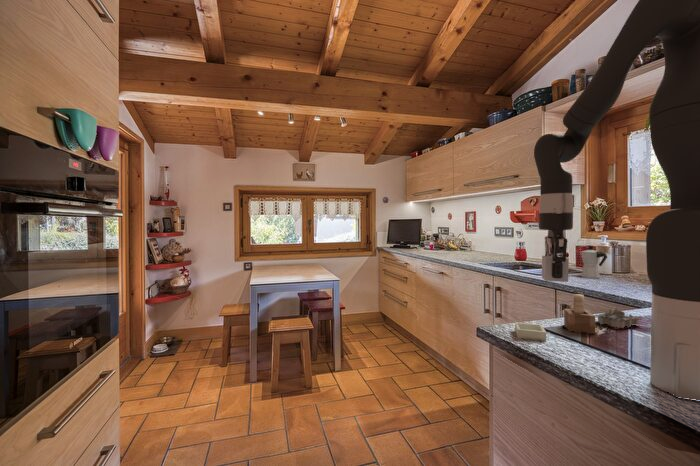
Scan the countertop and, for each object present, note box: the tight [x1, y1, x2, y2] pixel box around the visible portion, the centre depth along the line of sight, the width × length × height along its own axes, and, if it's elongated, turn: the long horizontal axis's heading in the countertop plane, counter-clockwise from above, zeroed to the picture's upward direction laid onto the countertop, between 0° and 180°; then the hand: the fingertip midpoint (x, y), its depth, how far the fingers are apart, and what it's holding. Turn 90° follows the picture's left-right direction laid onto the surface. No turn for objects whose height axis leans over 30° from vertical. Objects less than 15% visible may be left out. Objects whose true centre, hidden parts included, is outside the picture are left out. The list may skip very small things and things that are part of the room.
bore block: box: [563, 308, 596, 334], centre depth 92 cm, size 6×6×5 cm
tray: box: [514, 321, 547, 342], centre depth 87 cm, size 7×7×2 cm
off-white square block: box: [541, 255, 569, 283], centre depth 84 cm, size 5×5×6 cm
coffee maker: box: [579, 245, 608, 279], centre depth 179 cm, size 15×9×18 cm, turn 17°
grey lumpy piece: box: [594, 307, 642, 328], centre depth 97 cm, size 11×8×4 cm
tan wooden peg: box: [573, 293, 585, 314], centre depth 92 cm, size 2×2×10 cm
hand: (554, 275), depth 84 cm, fingers closed on off-white square block, 5 cm apart
